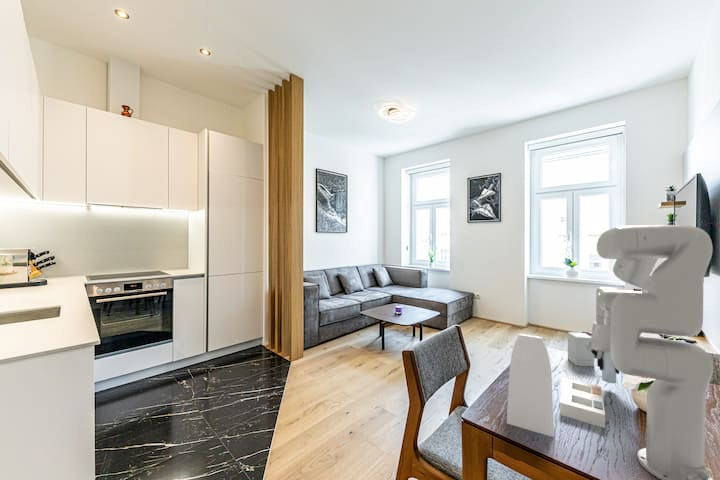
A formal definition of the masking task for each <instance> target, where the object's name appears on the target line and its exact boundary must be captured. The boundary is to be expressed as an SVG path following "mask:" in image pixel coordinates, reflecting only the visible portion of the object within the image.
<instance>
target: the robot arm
mask: <svg viewBox="0 0 720 480" xmlns="http://www.w3.org/2000/svg"><path fill="white" fill-rule="evenodd" d="M713 249H714V248H713V243H712V239H711V237H710V234H708V233H707V231H705V230H704V229H702V228H699V227H696V226H693V225H692V226H691V225H685V224H684V225H683V224H682V225H681V224H655V225H654V224H653V225H621V226H620V225H619V226H615V227H613V228H612V227H611V228H610V229H607V230H605V231H604V232H603V233H601V235H600V236H599V237H598V240H597V242H596V251H597V254H598V256H599V257H600V258H602V259H606V260H615V262H614V265H613V268H612V271H613V274H614V276H615V277H616V278H618V279H619V280H620V281H622V282H624V283H627V284H629V285H632V286H635V287H637V288H640V289H641V290H628V289H627V290H626V289H621V288H618V287H613V286H599V287H598V288H596V293H595V295H596V296H595V297H596V298H595V300H596V301H595V302H596V304H595V305H596V307H595V309H596V310H595V321H593V324H592V328H591V337H592V338H591V341H590V342H589V343H588V344H587V345H586V346H585V348H586V349H587V350H589V351H590V352H592V353H593V354H594V357H596V359H597V360H596V361H597V362H596V363H597V367H599V370H600V371H602V370H603V359H602V352H611V359H612V362H613V365H614V366H615V368H616V375H620V373H623V374H625V375H628V376H632V377H633V376H634V377H639V378H647V379H652V380H654V381H653V382H652V383H651V384H650V385H649V386H648V387H649V388H648V389H647V392H646V423H645V424H646V425H645V426H646V427H645V428H646V431H645V432H646V435H645V438H646V439H645V443H646V444H645V447H644V448H640V449H639V450H638V451H637V453H636V454H637V455H636V458H637V460H638V463H639V464H640V465H641V466H642V467H643V468H644V469H645V470H646V471H647V472H649V473H650V474H651V475H653V476H654V477H655V476H656V478H657V479H659V480H660V479H661V480H714V478H713V477H712V476H711V469H710V468H708V467H706V466H705V452H706V451H705V448H706V446H705V445H706V444H705V443H706V407H707V405H706V403H707V395H708V391H709V386H710V383H711V380H712V378H713V374H714V363H713V360H712V357H711V356H710V354H709V353H708V352H707V351H706V350H705V349H703V348H702V347H700V346H699V345H697V344H693V343H690V342H686V341H682V340H676V339H668V338H667V339H666V338H657V337H648V336H645V337H639V336H640V335H642V334H652V335H653V334H654V335H664V336H675V337H694V336H697V335H699V334H700V333H701V331H702V329H703V323H704V280H705V275H706V272H707V270H708V267H709V265H710V262H711V260H712V256H713ZM659 259H665V260H663V262H661V263H660V264H659V265H658V266H657V267H656V268H655V265H656V263H657V261H658V260H659ZM654 268H655V269H654ZM653 269H654V270H653ZM591 347H593V348H591Z"/></svg>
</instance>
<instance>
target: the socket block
mask: <svg viewBox="0 0 720 480" xmlns="http://www.w3.org/2000/svg"><path fill="white" fill-rule="evenodd" d="M560 390H561V391H560V401H559V415H560V416H562V417H563V416H564V417H567V418H570V419H573V420H576V421H580V422H583V423H586V424H589V425H593V426H595V427H600V428H603V429H606V412H605V404H604V398H603V393H602V392H603V391H602V386H600V385H596V384H592V383H589V382H588V383H587V382H583V381H579V380H574V379H571V378H567V377H562V380H561V388H560Z"/></svg>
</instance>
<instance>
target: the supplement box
mask: <svg viewBox="0 0 720 480" xmlns="http://www.w3.org/2000/svg"><path fill="white" fill-rule="evenodd" d="M591 338H592V335H590V334H588V333H586V332H576V331H575V332H573V331H570V332H567V360H568V359H569V360H568V361H570V362H571V364H573V363H574V365H575V366H576V365H579V366H578V367H587V366H594V367H595V355H594V354H593V353H592V352H590V351H589V350H587V349H586V348H585V346H586V345H587V344H588V343H589V342H590V341H591ZM591 348H593V347H591Z"/></svg>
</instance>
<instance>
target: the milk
mask: <svg viewBox="0 0 720 480" xmlns="http://www.w3.org/2000/svg"><path fill="white" fill-rule="evenodd" d="M510 357H511V358H510V363H509V376H508V389H507V390H508V392H507V407H506V409H507V410H506V424H507V425H509V426H510V425H511V426H514V427H517V428H521V429H525V430H527V431H528V430H529V431H531V432H535V433H539V434H541V435H545V436H547V437H548V436H549V437H552V438H555V431H554V430H555V428H554V427H555V425H554V405H553V404H554V402H553V380H552V379H553V378H552V377H553V376H552V366H551V359H550V355H549V351H548V350H547V346H546V343H545V342H544V340H543V338H542V336H537V335H530V334H524V333H518V336H517V338H516V340H515V342H514V344H513V348H512V351H511V356H510Z"/></svg>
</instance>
